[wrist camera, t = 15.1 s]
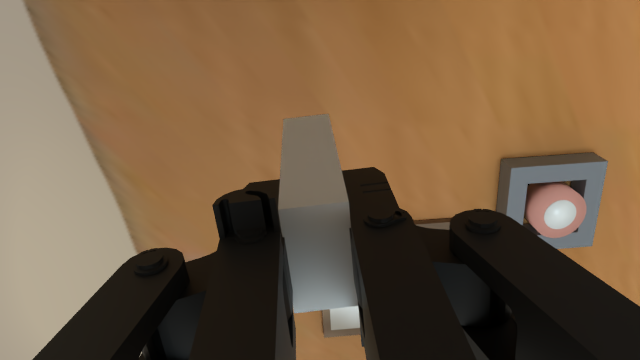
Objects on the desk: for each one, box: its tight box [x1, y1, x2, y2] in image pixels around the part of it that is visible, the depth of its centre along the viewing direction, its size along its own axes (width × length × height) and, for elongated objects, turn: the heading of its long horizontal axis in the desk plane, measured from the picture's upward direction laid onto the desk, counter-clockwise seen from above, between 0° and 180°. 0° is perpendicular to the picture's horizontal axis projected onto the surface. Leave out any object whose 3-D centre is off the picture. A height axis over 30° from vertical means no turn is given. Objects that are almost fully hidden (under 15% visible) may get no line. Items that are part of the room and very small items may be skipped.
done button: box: [524, 181, 586, 238], centre depth 47 cm, size 5×5×3 cm
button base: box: [496, 152, 608, 249], centre depth 48 cm, size 9×9×2 cm
